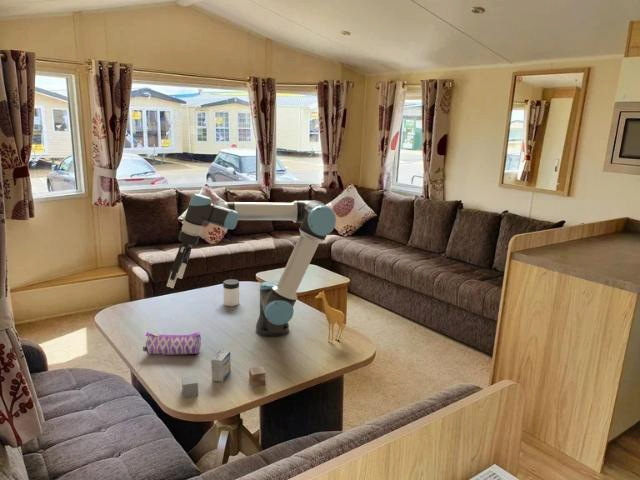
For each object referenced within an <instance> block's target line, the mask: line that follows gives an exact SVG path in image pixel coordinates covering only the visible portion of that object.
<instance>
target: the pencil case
mask: <svg viewBox="0 0 640 480" xmlns="http://www.w3.org/2000/svg"><path fill="white" fill-rule="evenodd" d="M145 336H146V342H145V346H143V347H142V351H143V352H146V354H147V355H166V356H167V355H169V356H170V355H173V356H174V355H195V354H199V352H200V349H201V347H202V346H201V345H202V340H201V339H202V337H201V331H197V332H194V333H191V334H159V333H157V334H156V333H154V332H149V331H147V332H146V333H145Z"/></svg>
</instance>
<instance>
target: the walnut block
mask: <svg viewBox="0 0 640 480" xmlns="http://www.w3.org/2000/svg"><path fill="white" fill-rule="evenodd" d="M248 375H249V377H248V380H249V382H250V385H251V387H252V388H255V387H261V386H260V385H262V386H266V381H267V380H266V377H267V376H266V371H265V369H264V366H262V365H261V366H255V367H254V366H253V367H249V372H248Z"/></svg>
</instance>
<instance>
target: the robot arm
mask: <svg viewBox="0 0 640 480" xmlns="http://www.w3.org/2000/svg"><path fill="white" fill-rule="evenodd" d="M238 221H292V222H293V223H294V224H295V223H297V224H300V226H299V228H298V229H299V232H300V235H299V237H298V239H297V241H296V244H295V246H294V248H293V250H292V252H291V255H290V256H289V258H288V261H287V263H286V265H285V267H284V269H283V272H282V274H281V276H280V278H279V280H270V281H264V282H262V283H261V284H260V285H259V290H258V291H259V315H258V318H257V321H256V324H255V332H256V334H258V335H259V336H263V337H267V338H275V337H276V338H278V337H281V336H284V335H286V334H288V333H289V330H290V324H289V322H290V321H291V320H292V319H293V317H294V306H295V304H296V301H297V300H298V295H297V291H298V289H299V287H300V285H301V283H302V281H303V278H304V276H305V274H306V272H307V270H308V268H309V266H310V263H311V261H312V260H313V259H312V258H313V257H314V255H315V253H316V251H317V248H318V247H319V245H320V243H322V242H325V240H326V237H327V236H328V235H329V234H330V233H332V232H333V230H334V229H335V227H336V224H337V217H336V214H335V213H334V211H333V209H332V208H330V206H328V205H326V204H325V203H323V202H322V201H319V200H315V199H314V200H313V199H311V200H310V199H309V200H294V201H292V202H250V201H249V202H247V201H246V202H241V201H239V202H238V201H233V202H231V201H228V202H227V201H225V200H217V201H216V202H215V203H212V198H211V197H209V196H207V195H205V194H200V193H193V194H192V196H191V199H190V201H189V203H188V206H187V210H186V213H185V216H184V220H182V221H181V224H182V227H181V230H180V231H179V235H178V237H177V238H178V241H179V242H181V243H182V244H181V245H179V247H178V251H177V253H176V255H175V259H174V261H173V262H172V265H171V267H170V268H169V270H168V271H170V273H169V276H168V280H167V283H166V287H168V288H170V289H174V287H175V284H176V282H177V279H180V280H182V279H183V278H184V277H183V276H184V274H185V271H186V268H187V266H188V265H189V264H190V261H189V260H190V257H191V251H192V247H193V246H197V245H198V243H199V239H200V235H201V234H202V231H203V228H204V224H205V223H208V224H213V225H215V226H218V227H222V228H223V229H228V230H234V229H236V226H237V224H238Z"/></svg>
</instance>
